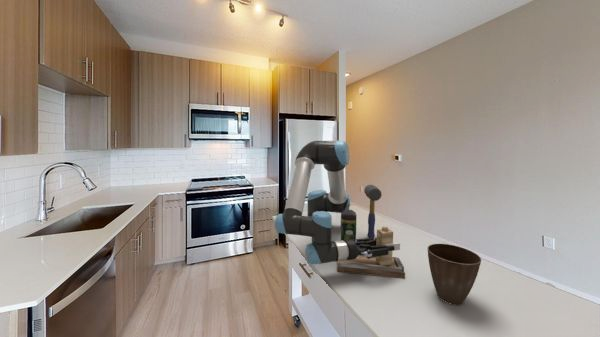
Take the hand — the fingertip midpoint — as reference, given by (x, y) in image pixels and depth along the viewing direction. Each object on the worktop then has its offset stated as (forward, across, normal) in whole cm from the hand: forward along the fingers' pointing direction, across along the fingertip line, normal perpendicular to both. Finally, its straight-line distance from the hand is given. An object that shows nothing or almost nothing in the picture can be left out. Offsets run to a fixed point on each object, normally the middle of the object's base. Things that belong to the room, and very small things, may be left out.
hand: (395, 243), depth 96 cm
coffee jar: (-10, -24, -11) cm, 28 cm away
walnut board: (-10, -4, -10) cm, 15 cm away
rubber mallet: (+7, -30, -11) cm, 32 cm away
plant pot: (+6, +21, -11) cm, 25 cm away
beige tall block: (-5, 0, -8) cm, 9 cm away
